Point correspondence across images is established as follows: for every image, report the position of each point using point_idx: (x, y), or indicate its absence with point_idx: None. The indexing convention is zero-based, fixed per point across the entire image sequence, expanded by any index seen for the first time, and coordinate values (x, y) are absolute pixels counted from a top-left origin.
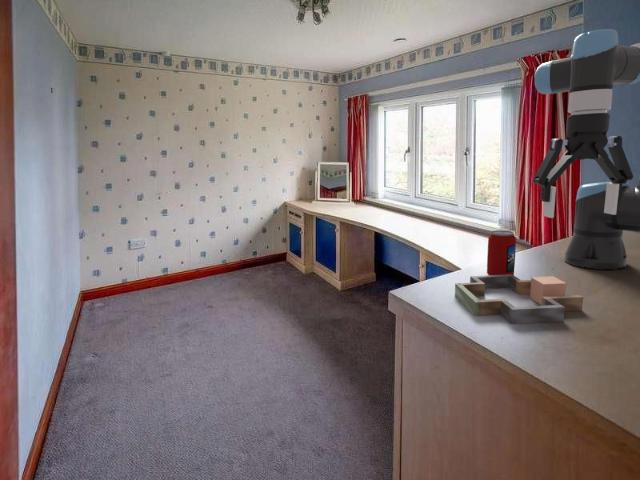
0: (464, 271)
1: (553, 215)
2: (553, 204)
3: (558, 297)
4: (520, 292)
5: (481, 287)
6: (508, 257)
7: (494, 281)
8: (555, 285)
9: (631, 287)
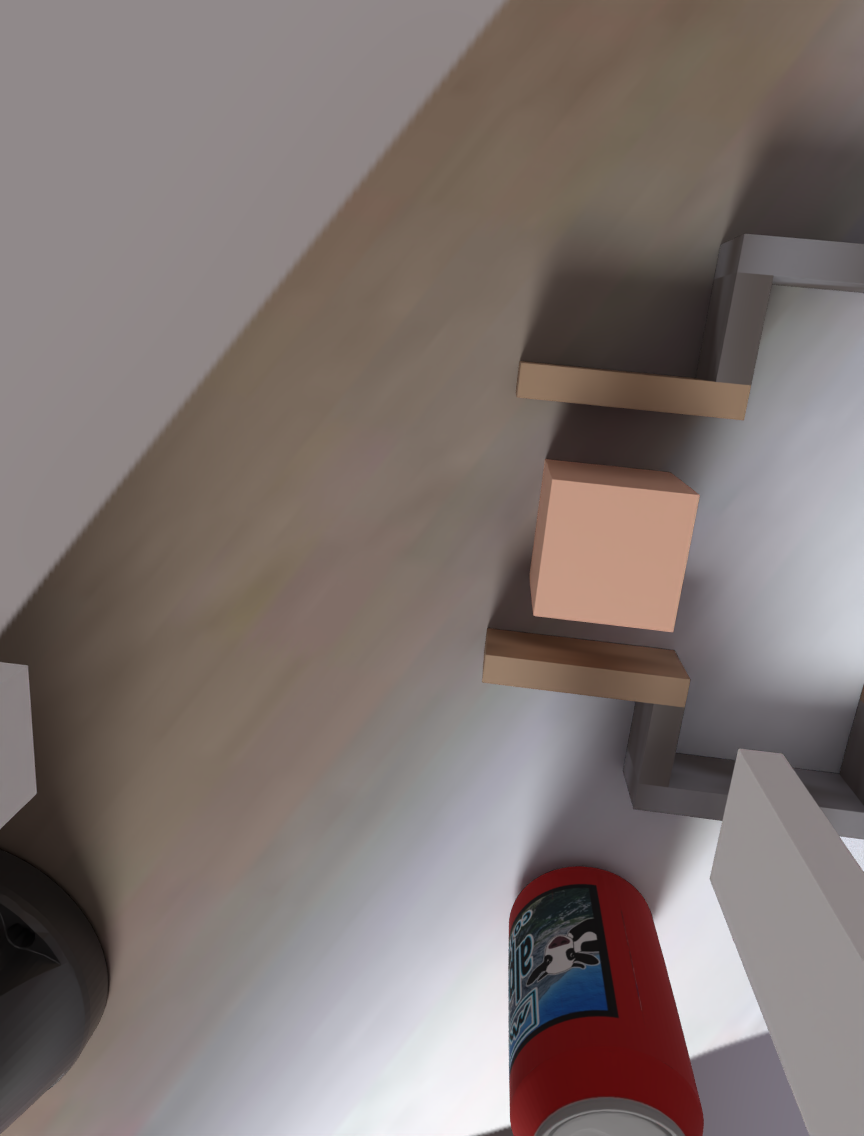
0: (713, 1032)
1: (752, 761)
2: (817, 851)
3: (662, 387)
4: (663, 652)
5: None
6: (596, 952)
7: None
8: (617, 485)
9: (47, 594)
